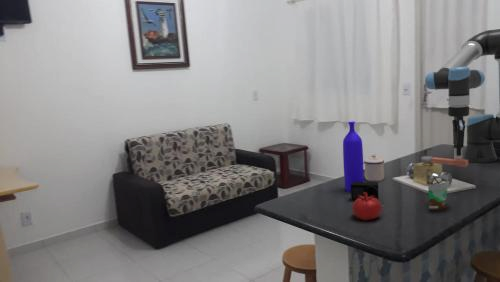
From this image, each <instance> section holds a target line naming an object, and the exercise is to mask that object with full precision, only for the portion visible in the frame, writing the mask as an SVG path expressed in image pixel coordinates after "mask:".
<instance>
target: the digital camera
mask: <svg viewBox="0 0 500 282" xmlns="http://www.w3.org/2000/svg"><path fill="white" fill-rule="evenodd" d="M364 192H366V193H367V197H370V196H372V197H374V198H376V199H378V200H379V199H380V198H379V197H380V195H379V181H364V182H352V183H351V192H350V197H351V199H350V200H351V202H355V200H356V199H358V198H359V197H360V196H359V195H361V196H363V197H364V194H363V193H364Z"/></svg>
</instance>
